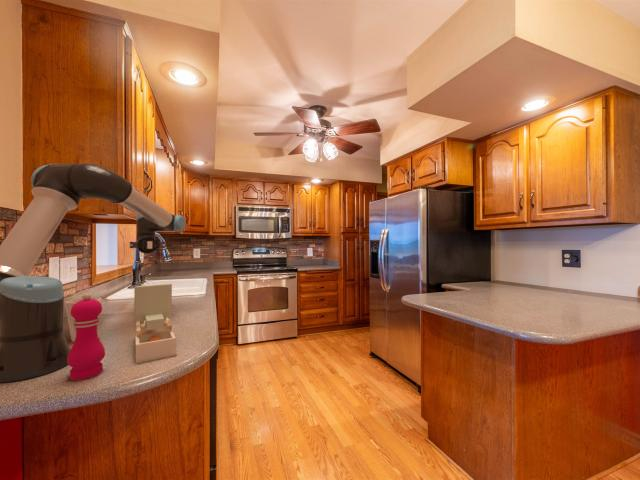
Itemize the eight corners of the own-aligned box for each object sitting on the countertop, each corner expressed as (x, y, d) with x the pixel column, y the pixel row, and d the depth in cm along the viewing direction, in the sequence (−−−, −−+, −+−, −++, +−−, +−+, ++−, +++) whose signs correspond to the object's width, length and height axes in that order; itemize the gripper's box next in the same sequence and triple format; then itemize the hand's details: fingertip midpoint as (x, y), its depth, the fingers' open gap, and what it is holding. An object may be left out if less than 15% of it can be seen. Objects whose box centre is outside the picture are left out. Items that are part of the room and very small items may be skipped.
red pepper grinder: (85, 343, 91) (85, 303, 91) (57, 343, 91) (57, 303, 91) (108, 334, 100) (108, 297, 100) (82, 334, 100) (82, 297, 100)
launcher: (136, 355, 81) (136, 327, 81) (135, 338, 95) (135, 314, 95) (171, 348, 86) (171, 322, 86) (165, 333, 100) (165, 311, 100)
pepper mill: (109, 372, 71) (110, 292, 71) (72, 384, 65) (72, 297, 65) (98, 365, 75) (98, 289, 75) (62, 376, 69) (63, 293, 69)
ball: (146, 337, 85) (146, 351, 84) (147, 337, 82) (147, 352, 81) (161, 335, 87) (162, 348, 86) (162, 335, 84) (163, 349, 83)
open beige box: (135, 363, 75) (136, 345, 76) (135, 352, 83) (135, 335, 83) (175, 355, 81) (175, 338, 81) (171, 345, 89) (171, 329, 89)
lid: (134, 332, 79) (134, 290, 79) (134, 324, 86) (134, 286, 86) (174, 326, 85) (174, 287, 85) (171, 319, 92) (171, 283, 92)
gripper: (163, 253, 128) (169, 254, 109) (129, 253, 121) (128, 255, 101) (163, 236, 128) (169, 235, 109) (129, 236, 121) (128, 234, 101)
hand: (150, 245), depth 105 cm, fingers closed
